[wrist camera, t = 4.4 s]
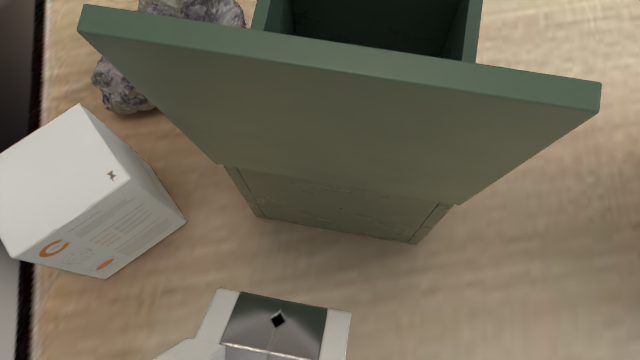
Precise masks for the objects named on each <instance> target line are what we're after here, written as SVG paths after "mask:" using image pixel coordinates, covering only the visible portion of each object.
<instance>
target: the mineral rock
mask: <svg viewBox="0 0 640 360" xmlns="http://www.w3.org/2000/svg"><path fill="white" fill-rule="evenodd" d="M136 12H142V13H149V14H156V15H162V16H169V17H175V18H182V19H188V20H195V21H201V22H208V23H215V24H221V25H228V26H234V27H241V28H245V26H246V24H245V20H244V14H243V11H242V9H241V7H240V5H239V4H238V2H237V1H236V0H139V4H138V10H137V11H136ZM91 83H92V84H93V85H94V86H95V87H97V88H100V90H101V91H102V96H103V100H102V101H103V103H104V105H105V109H107V110H108V111H111V112H114V113H119V114H130V113H136V112H137V111H138V110H143V111H149V110H151V109H153V108H155V107H156V106H155V105H154V104H153V103H152V102H151V101H149V100H148V99H147V98H146V97H145V96H144V95H143V94H142V93H141V92H140V91H139V90H138V89H137V88H136V87H135V86H134V85H133V84H132V83H131V82H130V81H129V80H127V79H126V78H125V77H124V76H123V75H122V74H121V73H120V72H119V71H118V70H117V69H116V68H115V67H114V66H113V65H112V64H111V63H110V62H109V61H108V60H107V59H105V58H104V57H103V56H102V58H101V59H100V60H99V61H98V63H97V66H96V68H95V70H94V72H93V74H92V76H91Z"/></svg>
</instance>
